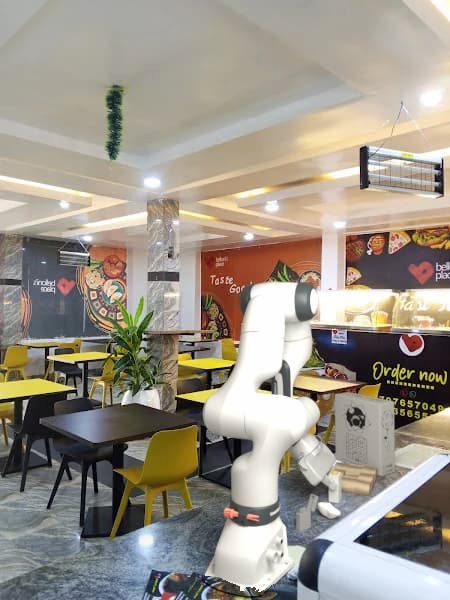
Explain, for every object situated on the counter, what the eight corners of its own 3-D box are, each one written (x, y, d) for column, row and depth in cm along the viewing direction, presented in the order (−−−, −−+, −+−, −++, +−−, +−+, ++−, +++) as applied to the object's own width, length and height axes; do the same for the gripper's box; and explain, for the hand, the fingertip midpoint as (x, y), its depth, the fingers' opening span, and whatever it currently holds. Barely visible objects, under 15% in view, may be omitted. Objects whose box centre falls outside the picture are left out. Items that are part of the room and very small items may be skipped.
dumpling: (313, 516, 133) (313, 502, 133) (323, 510, 137) (323, 496, 137) (334, 524, 128) (334, 509, 128) (345, 518, 132) (344, 503, 132)
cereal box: (395, 472, 166) (394, 401, 166) (380, 476, 162) (379, 404, 162) (349, 455, 184) (348, 391, 184) (335, 459, 180) (334, 394, 180)
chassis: (369, 496, 146) (369, 486, 146) (324, 488, 152) (324, 479, 152) (377, 476, 162) (377, 467, 162) (336, 470, 169) (336, 462, 169)
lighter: (300, 531, 124) (299, 501, 124) (295, 529, 126) (295, 499, 126) (319, 524, 128) (318, 494, 128) (314, 521, 130) (314, 492, 130)
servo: (338, 503, 141) (338, 473, 141) (328, 501, 143) (328, 472, 143) (341, 498, 145) (341, 469, 145) (331, 496, 146) (331, 468, 146)
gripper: (302, 452, 138) (336, 491, 133) (320, 434, 156) (350, 468, 152) (288, 465, 139) (321, 504, 135) (307, 446, 158) (337, 479, 154)
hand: (337, 485), depth 144 cm, fingers closed on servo, 4 cm apart
